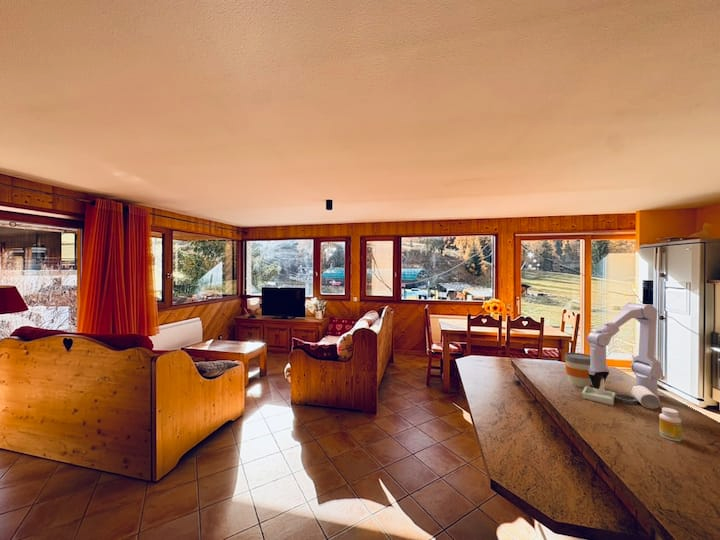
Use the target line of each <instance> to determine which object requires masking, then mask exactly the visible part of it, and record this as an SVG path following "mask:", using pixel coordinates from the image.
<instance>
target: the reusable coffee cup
mask: <svg viewBox="0 0 720 540" xmlns="http://www.w3.org/2000/svg"><path fill="white" fill-rule="evenodd" d="M564 360H565V370H566V374H567V379H568V383H569V384H570V385H571V386H573V387H577V388H583V389H584V388H585V386H588V387H591V385H592V382H591V379H590V377H589V375H588V374H587V372H588V371H589V369H590V355H589V354H586V353H581V352H580V353H579V352H566V353H564Z"/></svg>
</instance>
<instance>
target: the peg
mask: <svg viewBox="0 0 720 540" xmlns="http://www.w3.org/2000/svg"><path fill="white" fill-rule="evenodd" d="M592 388H593V387H592ZM605 388H606V387H605V384H604V378H602V379H601V382H600V388H599V389H596V388H593V392H594V393H595V394H598V395H604V394H605Z"/></svg>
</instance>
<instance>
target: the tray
mask: <svg viewBox="0 0 720 540" xmlns="http://www.w3.org/2000/svg"><path fill="white" fill-rule="evenodd" d="M615 393H616V392H614V391H609V390H605V394H604V395H598V394H595V393H594V392H593V386H592V387H591V386H590V387H588V386H585V388H583V390H582V391H581V399H583V400H584V399H585V400H588V401H592V402H597V403H601V404H604V405H608V406H614V403H615V401H616V400H615Z"/></svg>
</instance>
